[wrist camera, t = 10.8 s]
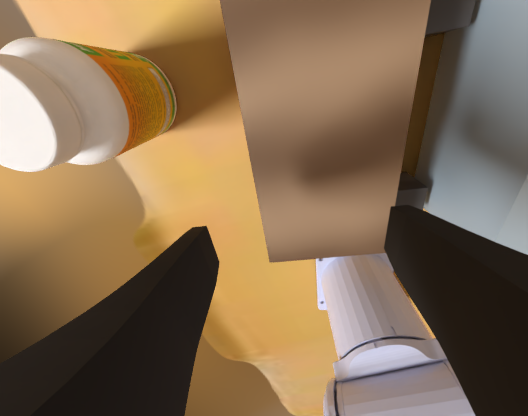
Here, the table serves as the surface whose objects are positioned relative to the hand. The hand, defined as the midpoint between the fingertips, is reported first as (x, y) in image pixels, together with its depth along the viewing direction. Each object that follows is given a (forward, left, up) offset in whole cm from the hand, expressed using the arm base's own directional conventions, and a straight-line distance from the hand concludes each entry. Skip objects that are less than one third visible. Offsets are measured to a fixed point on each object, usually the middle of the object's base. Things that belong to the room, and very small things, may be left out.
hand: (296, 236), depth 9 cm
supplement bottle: (+6, +10, -11) cm, 16 cm away
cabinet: (+2, -7, -10) cm, 13 cm away
